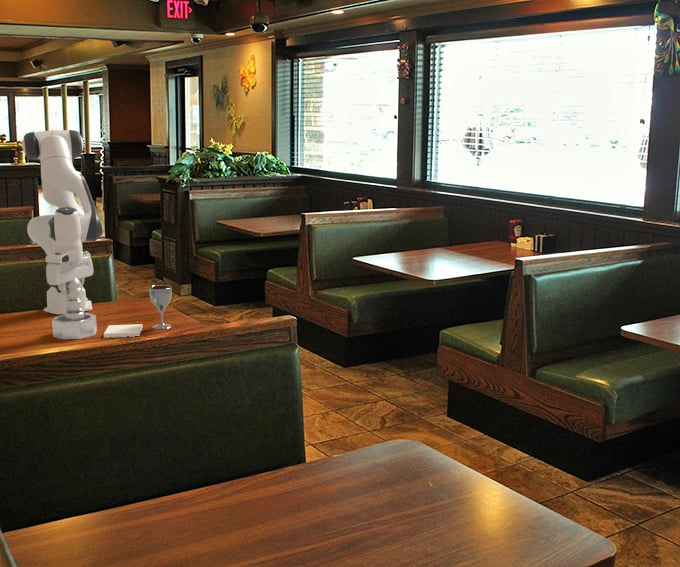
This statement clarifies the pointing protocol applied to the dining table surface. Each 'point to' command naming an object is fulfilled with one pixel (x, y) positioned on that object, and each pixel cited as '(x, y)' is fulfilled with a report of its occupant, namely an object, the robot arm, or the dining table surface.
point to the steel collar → (74, 327)
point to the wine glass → (161, 301)
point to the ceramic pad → (123, 330)
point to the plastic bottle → (74, 301)
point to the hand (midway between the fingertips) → (72, 292)
